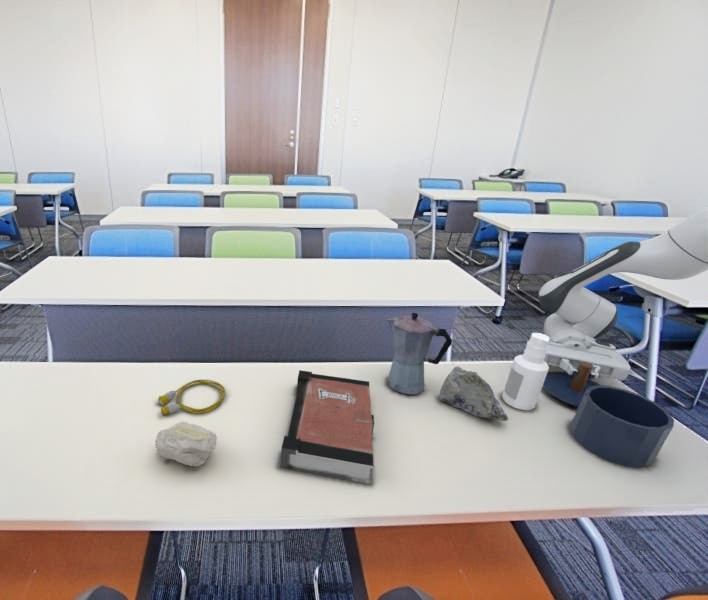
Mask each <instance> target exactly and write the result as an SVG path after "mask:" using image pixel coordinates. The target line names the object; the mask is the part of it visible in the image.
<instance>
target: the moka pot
mask: <svg viewBox="0 0 708 600" xmlns="http://www.w3.org/2000/svg"><path fill="white" fill-rule="evenodd" d="M386 321H387V322H388V323H389V327H390V330H391V333H392V336H393V359H392V363H391V366H390V370H389V374H388V378H387V384H388V386H389V388H390V389H392V390H393V391H395V392H397V393H401V394H402V395H403V394H404V395H417V394H421V393H423V392H425V361H426V356H428V353H429V349H430V345H431V342H432V339H433V336H434V337H443V338H444V339H445V342H444V343H443V345H442V347H441V348H440V350H439V352H438V354H437V356H436V357H435V358H434V359H432V358H428V359H427V362H428V363H429V364H432V365H439V364H440V362H441V361H442V360H443V358H444V356H445V354H446V353H447V351H448V350H449V349H450V347H451V346H452V343H453V339H452V338H451V336H450V335H449V334H448V333H449V332H448V331H447V329H446V328H440V327H437V326H434V323H433V322H431V321H429V320H427V319H425V318H422V317H419V313H418V312H412V313H411V314H410V315H403V316H392V317H389V318H387V319H386Z"/></svg>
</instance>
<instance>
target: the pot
mask: <svg viewBox="0 0 708 600" xmlns="http://www.w3.org/2000/svg"><path fill="white" fill-rule="evenodd" d="M674 424H675V419H674V418H673V416H672V415H671V414H670V412H669V411H668V410H666V408H664V407H663V406H661V405H660V404H658V403H657V402H655V401H653V400H651V399H649V398H647V397H646V396H643V395H641V394H639V393H637V392H633V391H629V390H628V389H624V388H620V387H616V386H611V385H601V386H598V385H596V386H592V387H589V388H587V389H586V391H585V393H584V395H583V398H582V400H581V402H580V405H579V407H577V409H576V412H575V414H574V417H573V419H572V421H571V423H570V425H569V426H570V427H569V430H570V433H571V435H572V437H573V438H574V439H575V440H576V442H577V443H579V444H580V445H581V446H582V447H583V448H584V449H586V450H587V451H589V452H590V453H592V454H593V455H596V456H597V457H599V458H601V459H604V460H606V461H608V462H611V463H613V464H616V465H620V466H624V467H628V468H645V467H649V466H650V465H652V463H654V462H655V460H656V458H657V456H658V454H659V453H660V451H661V449H662V448H663V445H664V444H665V442H666V441H667V439H668V437H669V436H670V433H671V431H672V430H673V428H674Z"/></svg>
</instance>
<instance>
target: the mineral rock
mask: <svg viewBox="0 0 708 600" xmlns="http://www.w3.org/2000/svg"><path fill="white" fill-rule="evenodd" d="M438 399H439V400H440V401H441V402H445V403H448V404H449V405H452V407H454V408H458V409H461V410H463V412H466V413H470V414H471V415H474V416H475V417H478V418H484V419H493V420H498V421H502V422H507V421H509V417H508V415H507V413H506V412H505V410H504V408H503V407H502V406H501V403H500V401H499V400H498V399H497V398H496V396H495V394H494V390H493V388H492V387H491V385H490V384H489V383H487V381H486V380H485V379H483V378H482V377H481V376H480V375H479V374H478V373H477V371H471V370H469V371H468V370H465V369H463V368H462V367H460V366H459V365H458V366H454V367H453V369H452V370H451V371H450V372H449V374H448V375H447V376H446V378H445V379H444V380H443V384H442V386H441V387H440V389H439V393H438Z"/></svg>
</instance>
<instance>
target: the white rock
mask: <svg viewBox="0 0 708 600" xmlns="http://www.w3.org/2000/svg"><path fill="white" fill-rule="evenodd" d="M154 445H155V450H156V452H157V454H158V455H159V456H160V457H161V458H163V459H169V460H174V461H176V462H177V463H180V464H183V465H186V466H190V467H200V466H202V465H204V464H205V463H206V461H207V459H208V458H209V456H210V455H211V452H212V451H214V450H215V449H216V448H217V447H216V445H217V435H216V432H214V431H212V430H210V429H207V428H205V427H203V426H200V425H197V424H194V423H190V422H187V421H179V422H177V423H175V424H174V425H171V426H169V428H165V429H161V430H159V431H158V432H157V434H156V439H155V444H154Z"/></svg>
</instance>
